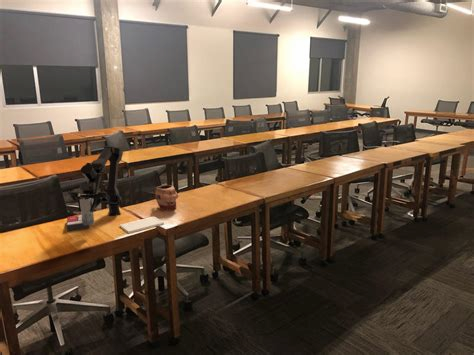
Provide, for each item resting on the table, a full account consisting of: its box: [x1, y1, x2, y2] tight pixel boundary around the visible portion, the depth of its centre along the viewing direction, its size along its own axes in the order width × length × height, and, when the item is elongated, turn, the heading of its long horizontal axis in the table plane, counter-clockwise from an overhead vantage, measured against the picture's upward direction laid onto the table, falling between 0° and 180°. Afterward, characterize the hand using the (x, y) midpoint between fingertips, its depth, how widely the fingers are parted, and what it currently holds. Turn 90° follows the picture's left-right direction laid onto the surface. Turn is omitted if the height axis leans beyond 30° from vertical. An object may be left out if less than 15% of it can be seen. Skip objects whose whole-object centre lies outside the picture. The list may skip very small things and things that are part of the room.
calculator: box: [66, 214, 90, 233], centre depth 207 cm, size 11×4×15 cm
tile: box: [119, 216, 165, 234], centre depth 205 cm, size 20×12×1 cm, turn 128°
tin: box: [79, 197, 95, 226], centre depth 189 cm, size 6×6×13 cm
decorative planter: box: [154, 184, 179, 211], centre depth 231 cm, size 20×12×14 cm, turn 51°
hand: (85, 211), depth 188 cm, fingers closed on tin, 5 cm apart
